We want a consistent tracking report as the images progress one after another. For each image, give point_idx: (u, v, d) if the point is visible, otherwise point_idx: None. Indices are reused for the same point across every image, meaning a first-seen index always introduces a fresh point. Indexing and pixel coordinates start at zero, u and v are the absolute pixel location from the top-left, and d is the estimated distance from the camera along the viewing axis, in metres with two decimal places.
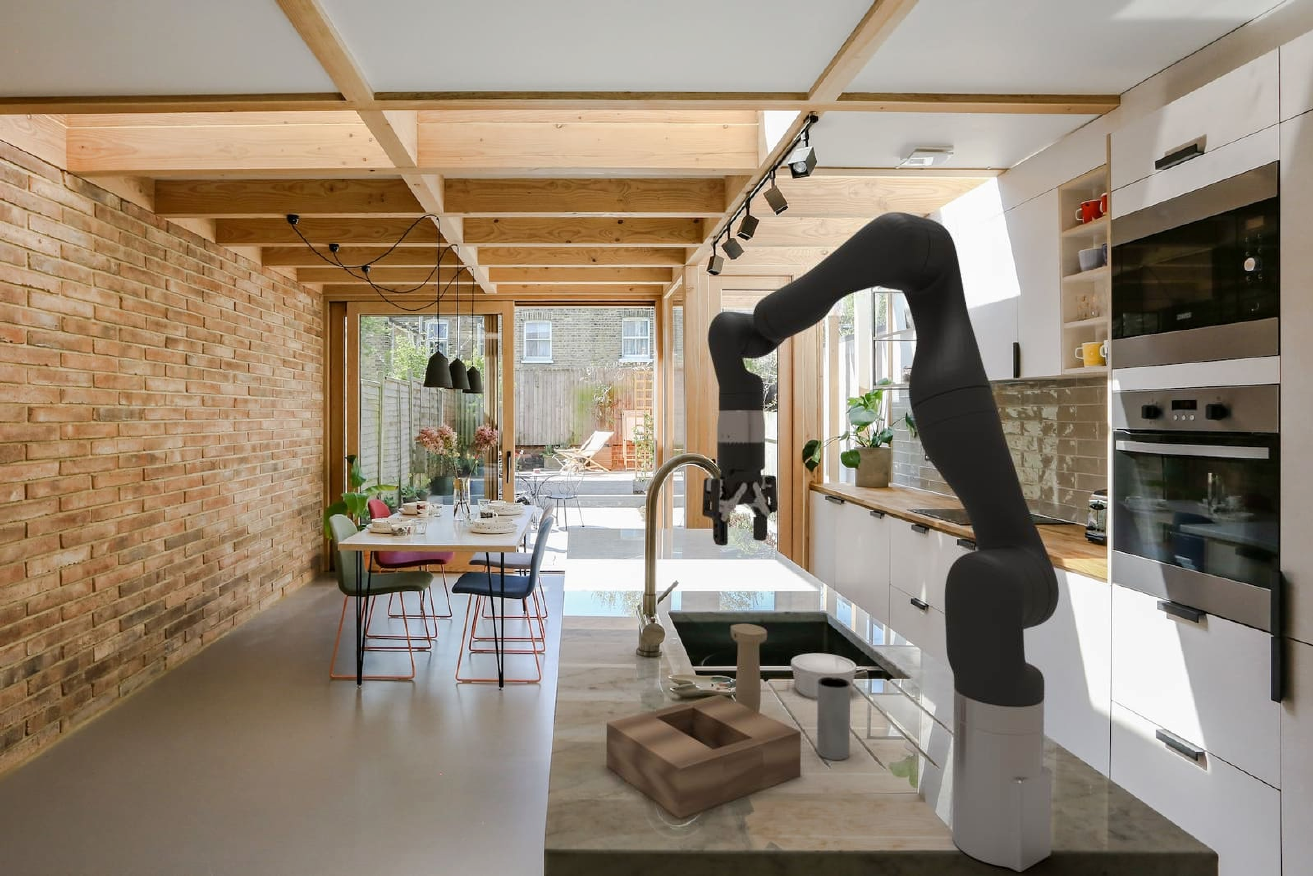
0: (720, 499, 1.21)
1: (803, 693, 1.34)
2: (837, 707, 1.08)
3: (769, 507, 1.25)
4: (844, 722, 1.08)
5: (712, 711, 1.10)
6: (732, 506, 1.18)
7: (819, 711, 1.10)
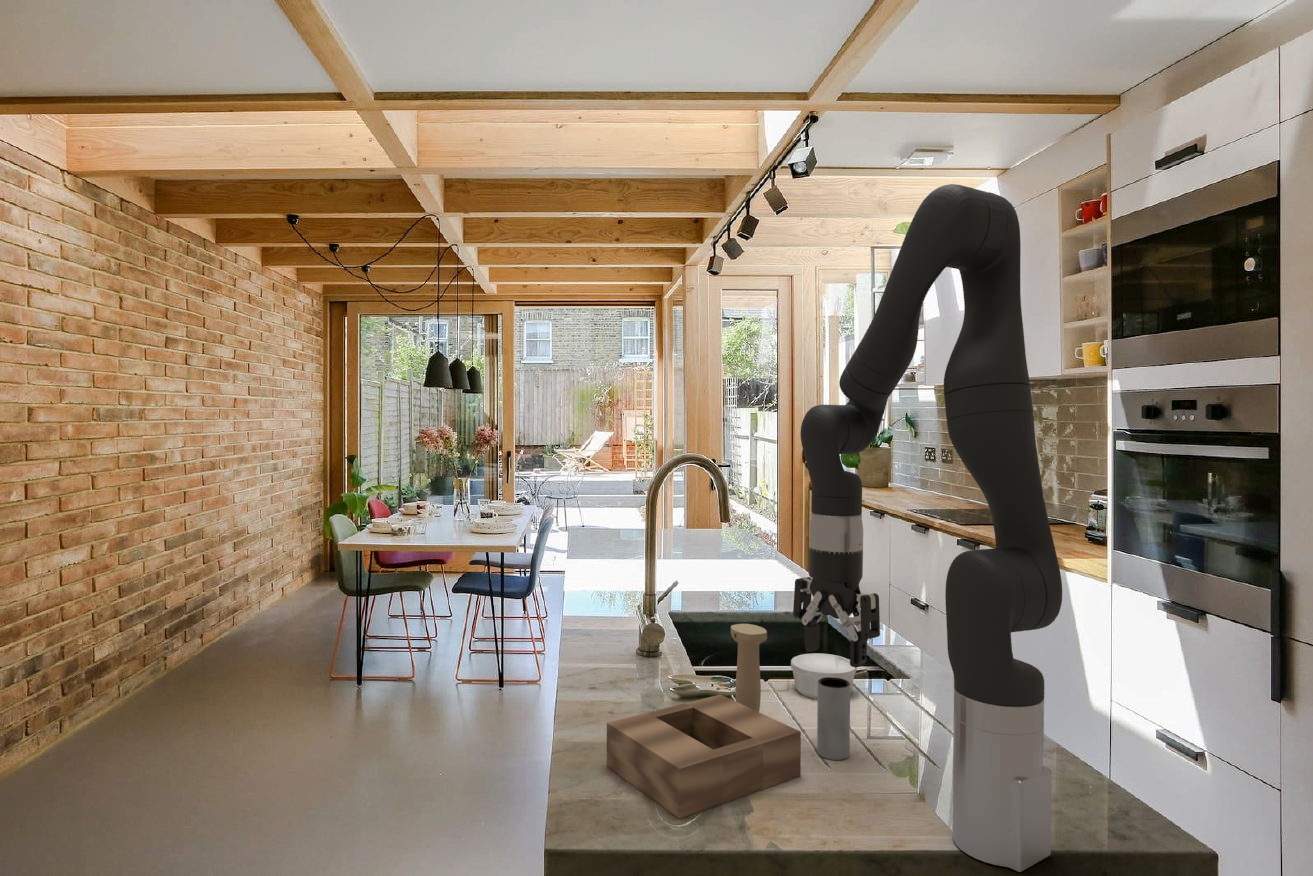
0: None
1: (803, 693, 1.34)
2: (837, 707, 1.08)
3: None
4: (844, 722, 1.08)
5: (712, 711, 1.10)
6: None
7: (819, 711, 1.10)
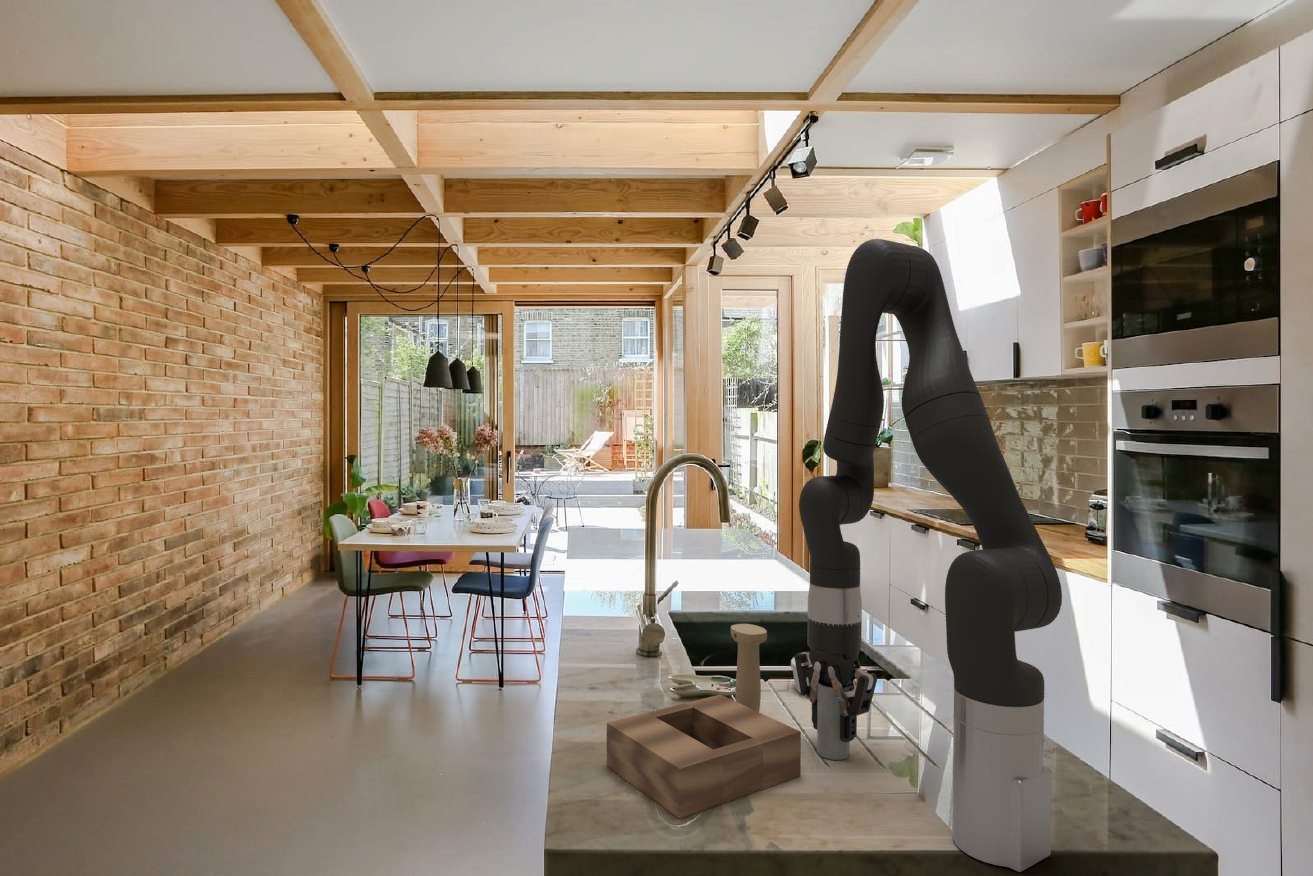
0: None
1: None
2: (837, 707, 1.08)
3: None
4: None
5: (712, 711, 1.10)
6: None
7: (819, 711, 1.10)
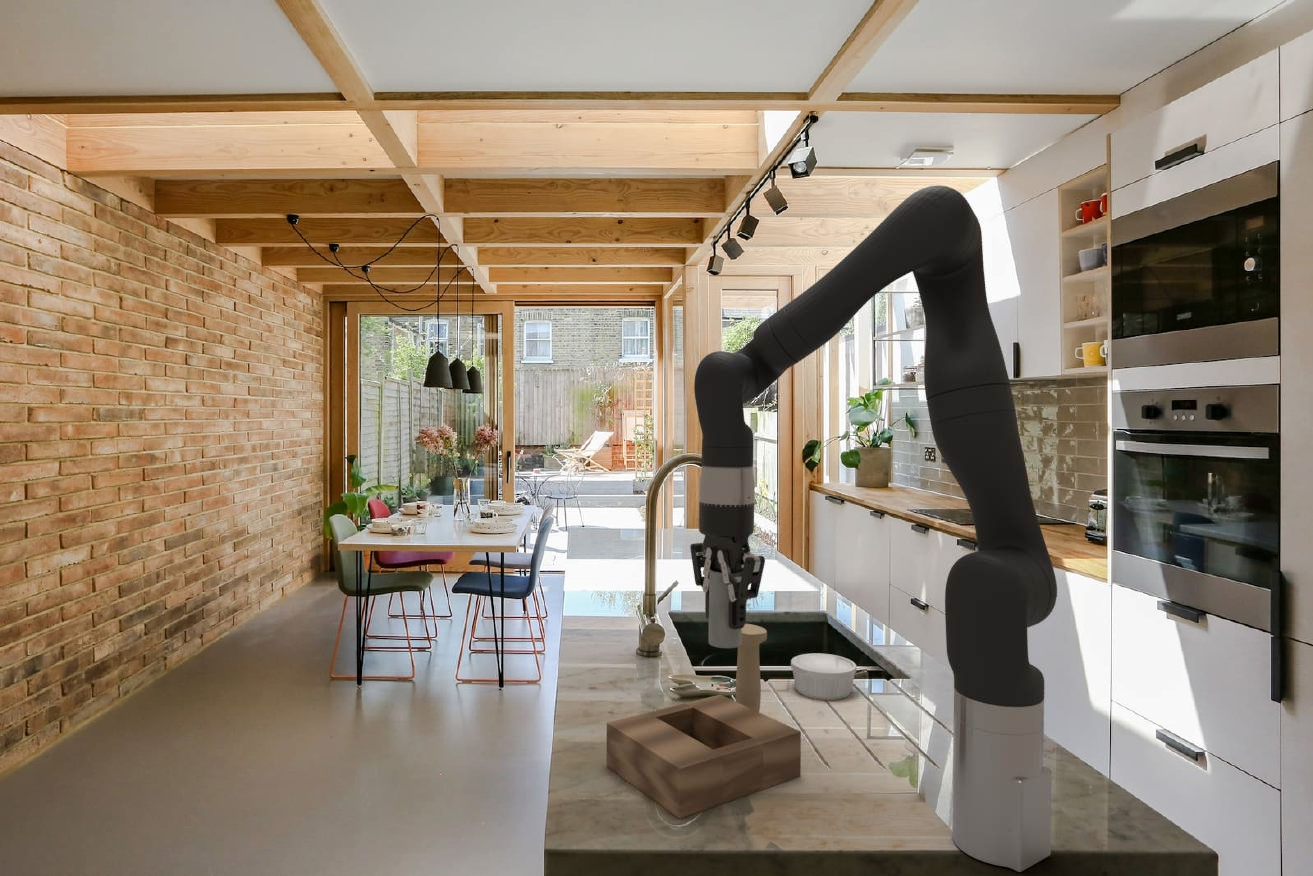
0: (730, 575, 1.03)
1: (803, 693, 1.34)
2: (727, 593, 1.04)
3: None
4: None
5: (712, 711, 1.10)
6: None
7: (710, 598, 1.05)
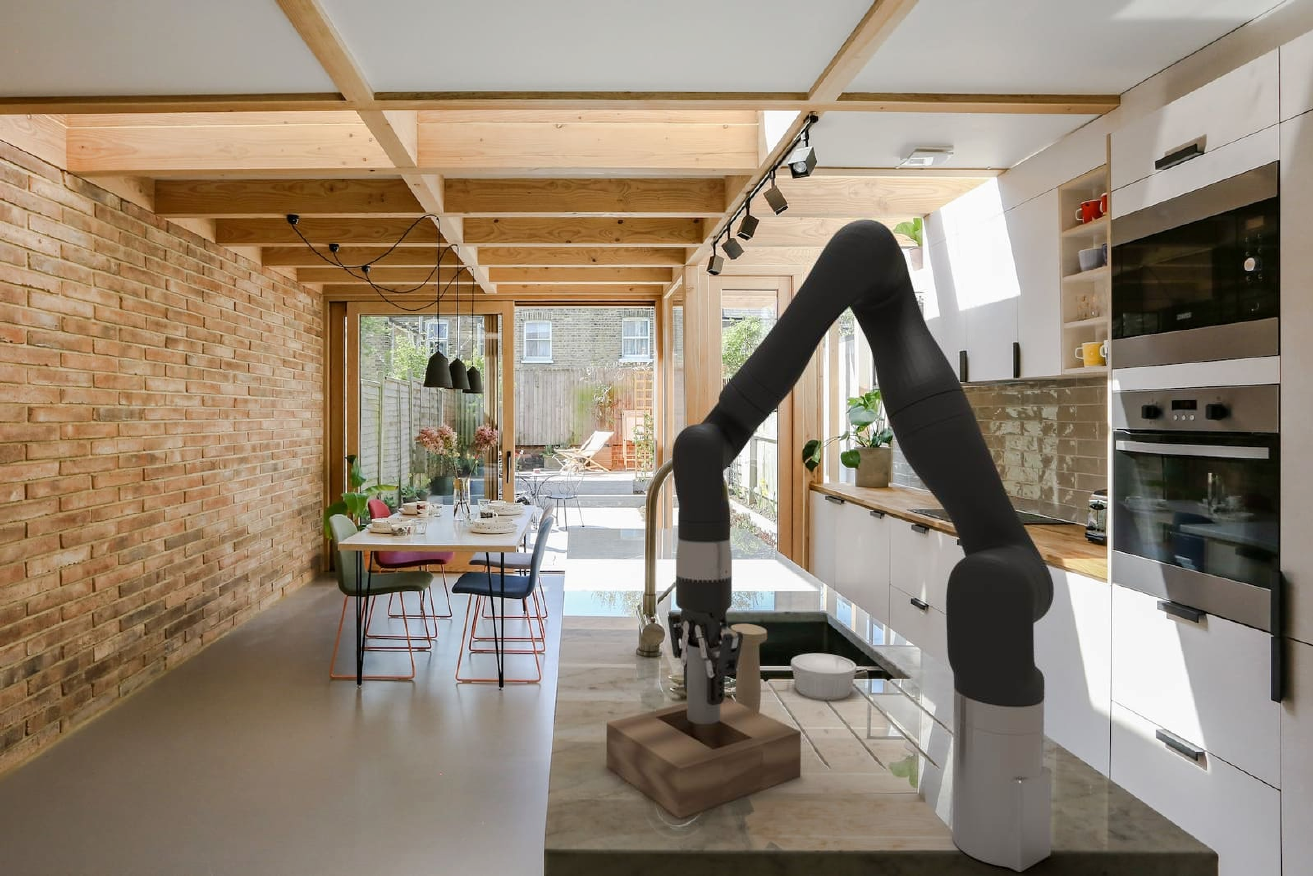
0: (708, 651, 1.02)
1: (803, 693, 1.34)
2: (705, 668, 1.02)
3: None
4: None
5: None
6: None
7: (688, 673, 1.04)
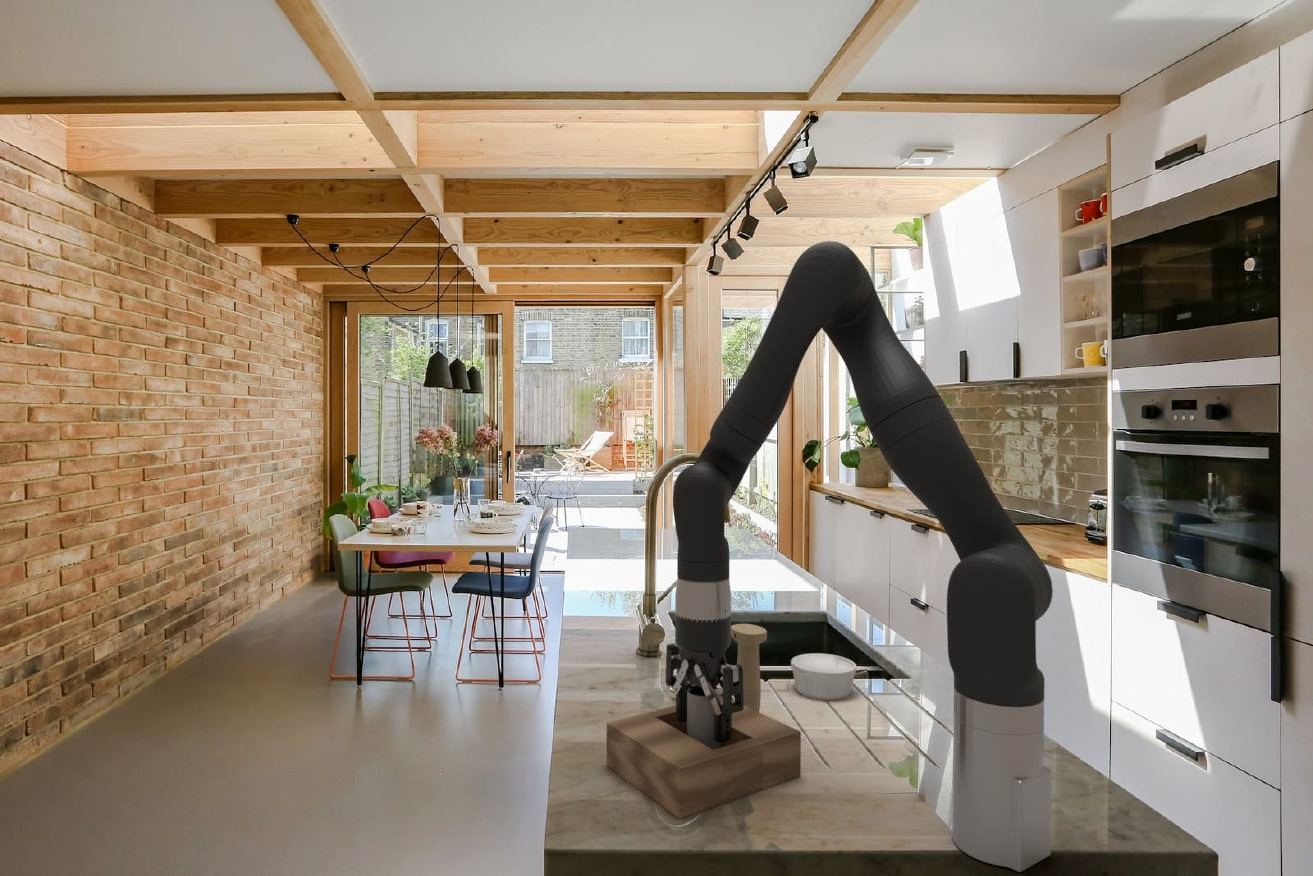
0: None
1: (803, 693, 1.34)
2: (705, 716, 1.02)
3: None
4: (713, 733, 1.03)
5: None
6: None
7: (688, 721, 1.04)
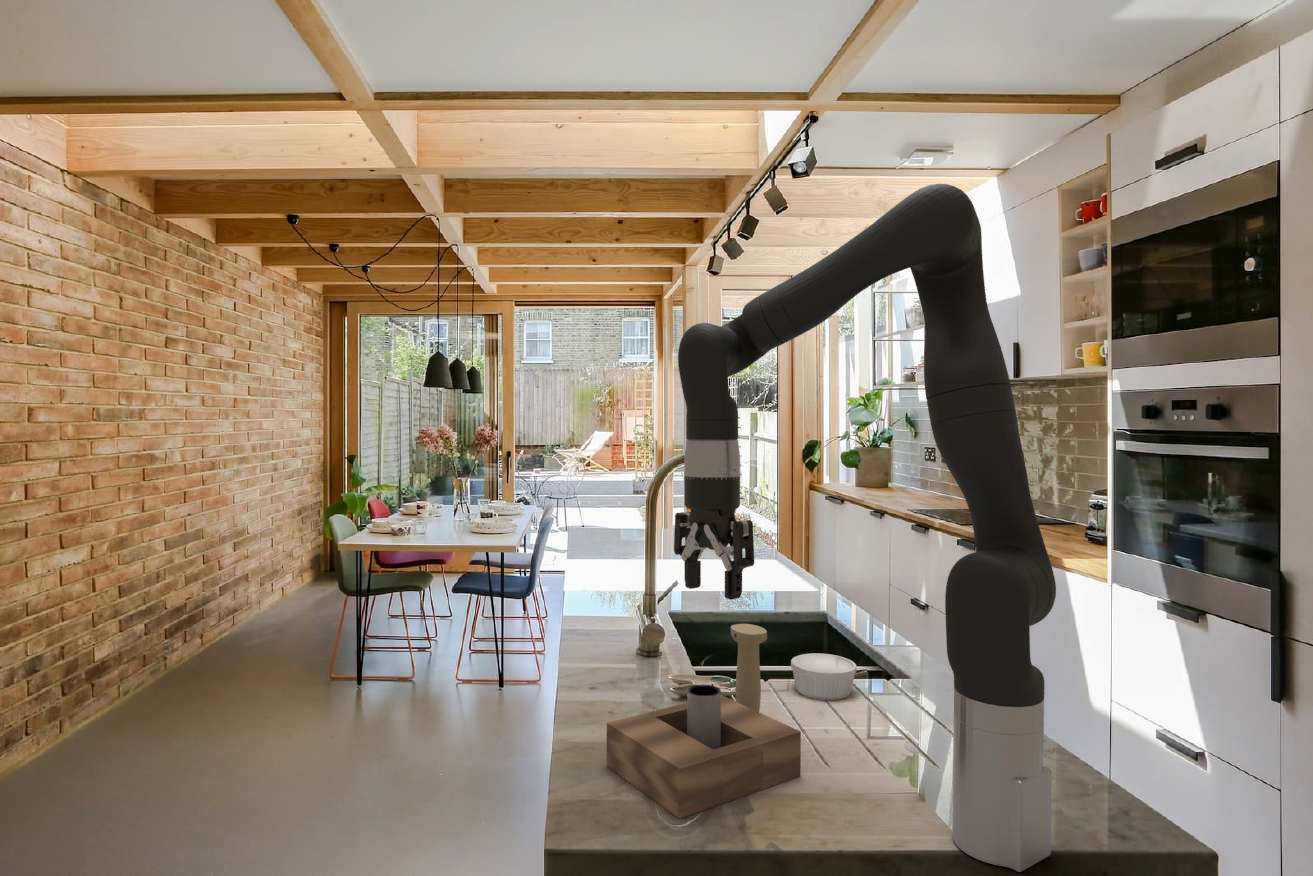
0: (721, 545, 1.01)
1: (803, 693, 1.34)
2: (705, 716, 1.02)
3: None
4: (713, 733, 1.03)
5: None
6: None
7: (688, 721, 1.04)
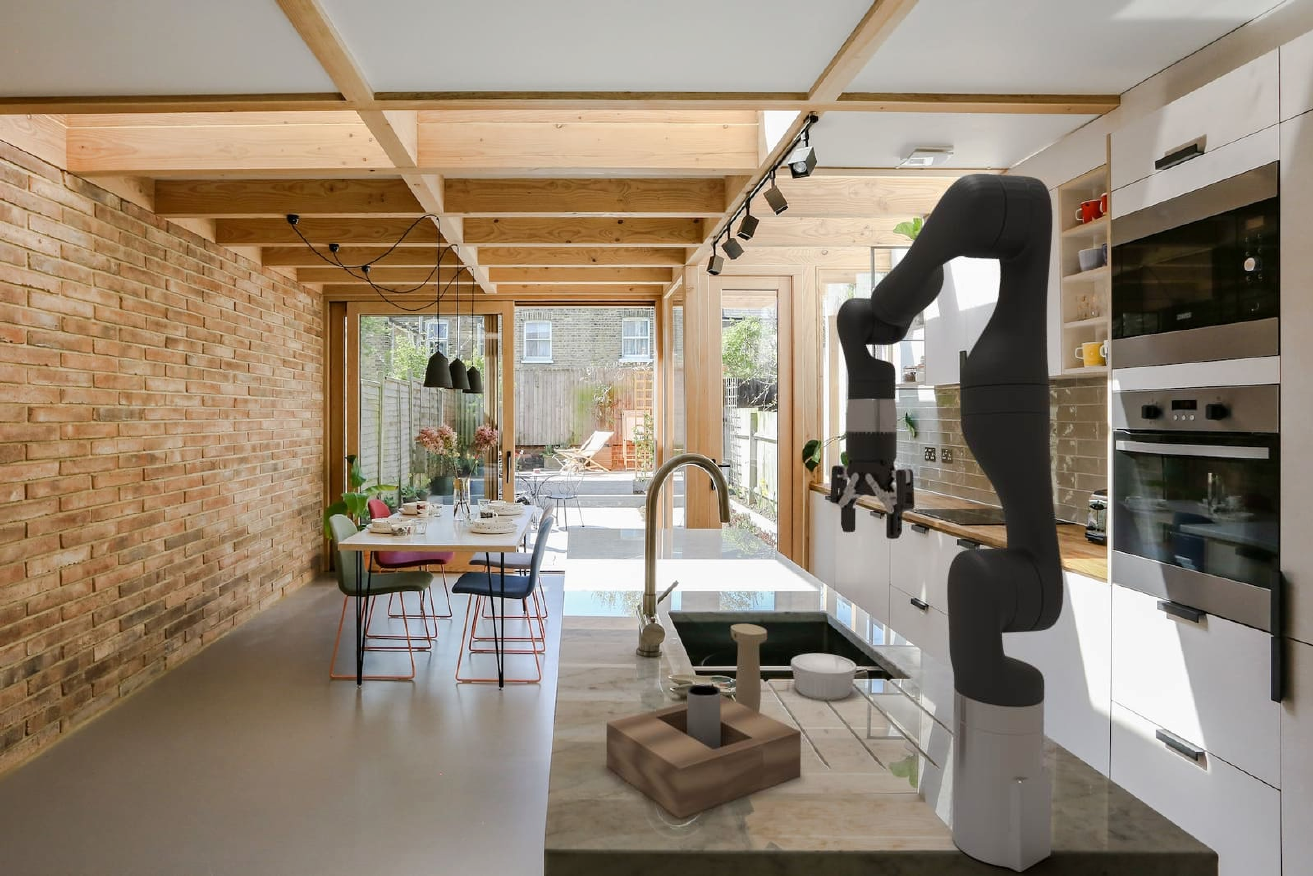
0: None
1: (803, 693, 1.34)
2: (705, 716, 1.02)
3: None
4: (713, 733, 1.03)
5: None
6: None
7: (688, 720, 1.04)
